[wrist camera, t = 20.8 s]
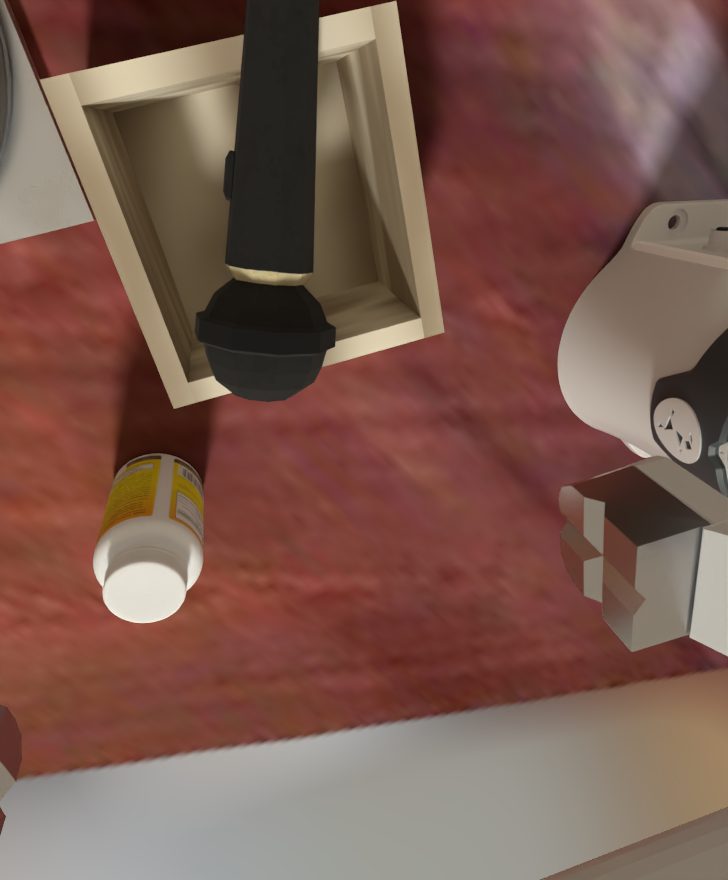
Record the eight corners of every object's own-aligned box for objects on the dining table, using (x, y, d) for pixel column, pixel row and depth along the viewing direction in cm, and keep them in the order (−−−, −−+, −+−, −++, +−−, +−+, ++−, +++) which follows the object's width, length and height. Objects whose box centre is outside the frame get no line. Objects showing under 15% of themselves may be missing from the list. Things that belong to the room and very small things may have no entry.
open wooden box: (347, 35, 30) (396, 0, 22) (393, 289, 36) (444, 332, 28) (86, 94, 28) (39, 79, 21) (181, 347, 35) (173, 408, 27)
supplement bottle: (101, 511, 38) (69, 624, 29) (128, 438, 37) (102, 535, 28) (187, 532, 40) (181, 644, 32) (216, 464, 39) (218, 562, 30)
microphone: (177, -302, 16) (175, 410, 23) (391, -269, 16) (327, 424, 23) (220, -173, 21) (208, 376, 28) (381, -149, 21) (332, 388, 28)
